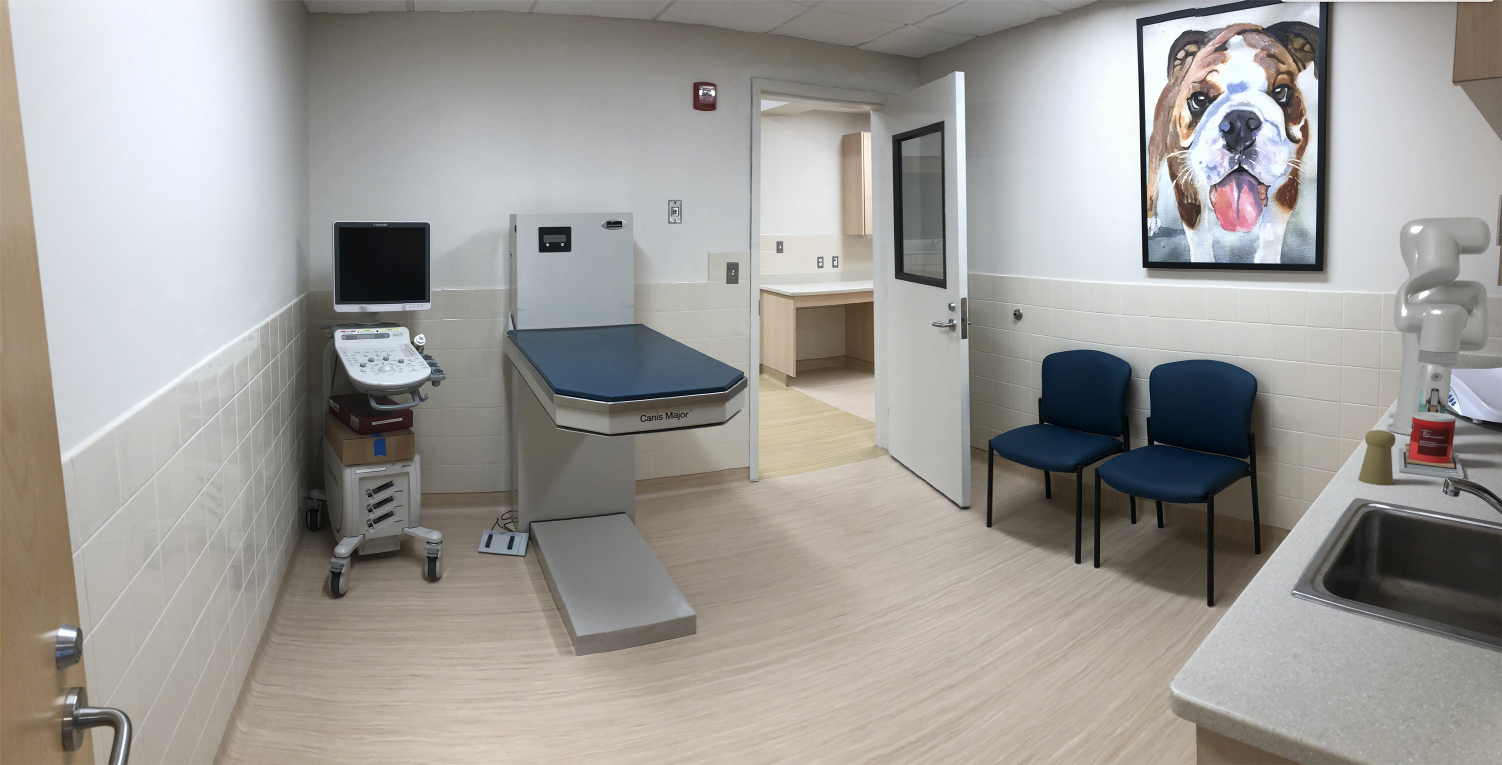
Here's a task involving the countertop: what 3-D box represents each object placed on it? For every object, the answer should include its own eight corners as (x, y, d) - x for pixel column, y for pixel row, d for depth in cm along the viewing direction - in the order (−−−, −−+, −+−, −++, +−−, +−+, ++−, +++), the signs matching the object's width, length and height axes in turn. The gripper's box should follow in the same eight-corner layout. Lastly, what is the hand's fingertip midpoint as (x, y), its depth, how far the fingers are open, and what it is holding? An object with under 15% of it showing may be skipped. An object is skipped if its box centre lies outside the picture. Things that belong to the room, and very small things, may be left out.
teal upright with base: (1454, 468, 190) (1462, 406, 188) (1406, 462, 195) (1413, 402, 193) (1449, 449, 207) (1456, 392, 205) (1405, 444, 212) (1411, 388, 210)
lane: (1463, 479, 183) (1464, 475, 183) (1399, 472, 189) (1399, 468, 189) (1457, 458, 200) (1457, 454, 200) (1398, 451, 207) (1399, 448, 207)
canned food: (1429, 457, 200) (1435, 411, 199) (1459, 466, 193) (1465, 418, 191) (1398, 458, 200) (1403, 412, 198) (1427, 467, 192) (1433, 419, 190)
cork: (1381, 486, 179) (1387, 435, 177) (1351, 479, 184) (1357, 429, 182) (1399, 483, 181) (1405, 432, 179) (1369, 476, 187) (1374, 426, 185)
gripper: (1460, 364, 196) (1450, 439, 199) (1455, 355, 210) (1446, 426, 213) (1419, 361, 201) (1410, 435, 204) (1417, 353, 214) (1409, 422, 217)
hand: (1429, 430), depth 208 cm, fingers open, 6 cm apart
